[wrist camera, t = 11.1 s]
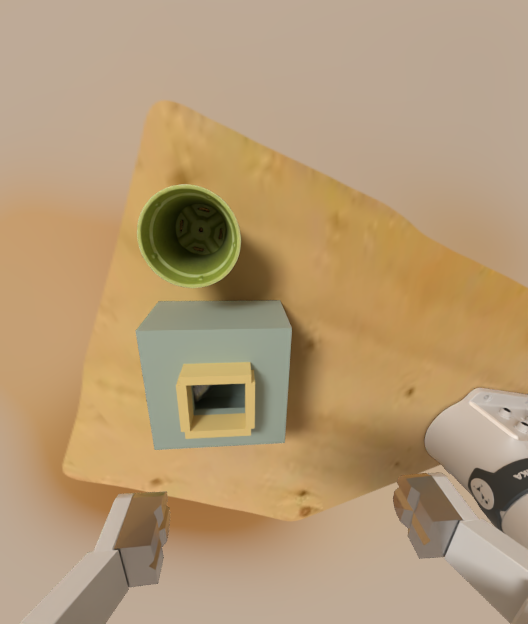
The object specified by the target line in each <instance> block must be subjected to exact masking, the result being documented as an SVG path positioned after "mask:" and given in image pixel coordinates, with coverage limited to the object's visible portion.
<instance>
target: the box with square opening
mask: <svg viewBox="0 0 528 624" xmlns="http://www.w3.org/2000/svg"><path fill="white" fill-rule="evenodd" d="M136 336H137V342H138V349H139V355H140V361H141V367H142V374H143V380H144V386H145V393H146V399H147V405H148V411H149V418H150V424H151V430H152V436H153V443H154V449H155V450H162V449H181V448H200V447H218V446H237V445H255V444H274V443H285V430H286V414H287V398H288V383H289V367H290V351H291V336H292V327H291V325H290V322H289V320H288V318H287V315H286V313H285V311H284V308H283V306H282V304H281V301H280V300H266V301H159V302H158V303H157V304H156V305H155V307H154V308H153V309H152V311H151V312H150V313H149V314H148V316H147V317H146V318H145V320H144V321H143V322H142V323H141V325H140V326H139V327H138V329H137V330H136ZM215 384H218V385H217V386H216V387H215V388H213V389H212V390H211V391H210V392H209V393H208V394H207V395H206V396H204V397H203V398H202V399H201V400H200V401H199V402H198V403H197V404H195V405H194V394H193V385H215Z"/></svg>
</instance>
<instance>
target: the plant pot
mask: <svg viewBox="0 0 528 624" xmlns="http://www.w3.org/2000/svg"><path fill="white" fill-rule="evenodd" d="M198 208H206V209H208V210H209V212H205V211H202V210H198ZM181 220H183V221H184V222H183V227H182V232H181V231H180V221H181ZM199 228H202V229H203V231H202V232H199ZM220 228H221V229H222V238H221V239H219V234H220ZM137 238H138V244H139V248H140V251H141V253H142V256H143V257H144V259H145V261H146V262H147V264H148V265H149V267H150V268H151V269H152V270H153V271H154V272H155V273H156V274H157V275H158V276H159V277H161V278H162V279H164V280H165V281H167V282H169V283H171V284H174V285H177V286H181V287H186V288H200V287H206V286H209V285H212V284H214V283H216V282H218V281H220V280H221V279H223V278H224V277H225V276H226V275H227V274H228V273H229V272H230V271H231V270H232V269H233V267H234V266H235V264H236V262H237V259H238V257H239V253H240V248H241V234H240V229H239V225H238V222H237V220H236V217H235V215H234V214H233V212H232V210H231V209H230V207H229V206H228V205H227V204H226V202H225V201H224V200H223V199H221V198H220V197H219V196H218V195H216V194H215V193H213V192H211V191H209V190H207V189H205V188H203V187H199V186H195V185H188V184H187V185H186V184H183V185H175V186H171V187H168V188H165V189H163V190H161V191H159V192H158V193H156V194H155V195H154V196H153V197H151V198H150V199H149V201H148V202H147V203H146V205H145V206H144V208H143V209H142V212H141V214H140V216H139V220H138V226H137ZM193 247H197V248H203V249H204V251H197V250H195V249H193Z"/></svg>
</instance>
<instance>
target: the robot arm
mask: <svg viewBox="0 0 528 624" xmlns="http://www.w3.org/2000/svg"><path fill="white" fill-rule="evenodd" d="M425 448H426V450H427V452H428V453H429V455H430V456H432V457H433V458H434V459H435V460H437V461H438V462H439V463H440V464H441V465H442V466H443V467H444V468H445V470H446V471H447V472H448V473H450V474H452V475H453V476H454V477H455V478H456V479H457V481H458V482H459V483H460V484H462V486H463V487H464V488H465V489H466V490H467V491H468V492H469V493H470V494H471V495H472V496H473V497H474V499H475V500H476V502H477V503H478V505H479V507H480V508H481V510H482V511H483V512H484V513H485V515H486V516H487V517H488V518H489V520H490V521H491V523H492V524H493V525H494V526H495V527H494V526H493V525H491V524H490V523H488V522H487V521H485V520H484V519H478V517H477V516H476V514H475V513H474V512H473V511H472V509H471V508H470V507H469V505H468V504H467V503H466V501H465V500H464V499H463V498H462V496H461V495H460V494H459V492H458V491H457V490H456V488H455V487H454V486H453V485H452V483H451V482H450V481H449V479H448V478H447V477H446V476H445V475H444V474H443V473H430V474H429V473H428V474H427V473H421V474H410V475H401V476H400V477H398V481H397V483H398V485H399V488H398V489H397V490H395V491H394V496H393V502H394V508H395V510H396V514H397V516H398V518H399V520H400V521H401V522H402V523H403V524H404V525H405V526H406V527H407V528H408V537H409V539H410V541H411V543H412V545H413V547H414V549H415V551H416V553H417V555H418V557H419V558H436V557H445V560H446V561H447V562H448V563H449V564H450V565H451V566H452V567H453V568H454V569H455V570H456V571H457V572H458V573H459V574H460V575H462V577H464V579H466V581H467V582H469V583H470V584H471V585H472V586H473V587H474V588H475V589H476V590H477V591H478V592H479V593H480V594H481V595H482V596H483V597H484V598H485V599H486V600H487V601H488V602H489V603H490V604H491V605H492V606H493V607H494V608H495V609H496V610H497V611H498V612H499V613H500V614H501V615H502V616H503V617H504V618H505V619H506V620H507V621H508V622H509V623H510V624H528V395H527V394H520V393H513V392H507V391H500V390H493V389H486V388H476V389H474V390H472V391H471V392H470V393H469V394H468V395H467V396H466V397H465V398H464V399H463V400H461V401H460V402H458V403H456V404H454V405H452V406H450V407H449V408H447V409H446V410H444V411H443V412H442V413H440V414H439V415H438V416H437V417H436V418H435V419H434V421H433V422H432V423H431V425H430V426H429V428H428V430H427V432H426V436H425ZM167 501H168V495H167V492H147V493H127V494H119V495H118V496H117V497H116V499H115V501H114V503H113V506H112V508H111V510H110V513H109V515H108V517H107V520H106V522H105V525H104V527H103V530H102V532H101V535H100V537H99V539H98V542H97V544H96V547H95V549H94V552H88V553H87V554H86V555H85V556H84V557H83V558H82V559H81V560H80V562H78V563H77V564H76V566H75V567H73V569H72V570H71V571H70V572H69V573H68V574H67V575H66V576H65V577H64V578H63V579H62V580H61V581H60V582H59V583H58V584H57V585H56V586H55V587H54V588H53V589H52V590H51V591H50V592H49V593H48V594H47V595H46V597H44V599H43V600H42V601H41V602H40V603H39V604H38V605H37V606H36V607H35V608H34V609H33V610H32V611H31V612H30V613H29V614H28V615H27V616H26V617H25V618H24V619H23V620H22V621H21V622H20V623H19V624H106V622H107V621H108V619H109V618H110V616H111V615H112V613H113V612H114V610H115V609H116V608H117V606H118V604H119V603H120V602H121V600H122V599H123V597H124V596H125V594H126V593H127V591H128V590H129V588H128V587H135V586H143V585H151V584H158V581H159V577H160V572H161V567H162V563H163V558H164V557H163V551H162V547H163V545H164V544H165V543H166V542H167V538H168V533H169V526H170V508H169V507H168V506H167Z"/></svg>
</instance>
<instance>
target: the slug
mask: <svg viewBox="0 0 528 624" xmlns="http://www.w3.org/2000/svg"><path fill="white" fill-rule="evenodd" d="M217 385H218V384H215V385H193V394H194V405H195V404H197V403H198V402H199V401H200V400H201V399H202V398H203V397H204V396H206V395H207V394H208V393H209V392H210V391H211V390H212V389H213V388H215V387H216V386H217Z"/></svg>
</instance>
